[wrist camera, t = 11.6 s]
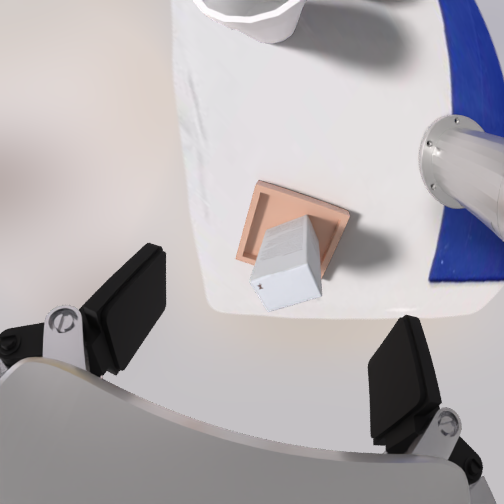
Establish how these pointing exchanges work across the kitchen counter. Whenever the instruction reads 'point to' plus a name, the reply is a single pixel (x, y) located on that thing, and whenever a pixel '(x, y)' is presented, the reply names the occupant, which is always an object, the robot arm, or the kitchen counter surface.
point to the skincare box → (288, 265)
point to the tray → (286, 209)
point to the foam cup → (255, 17)
